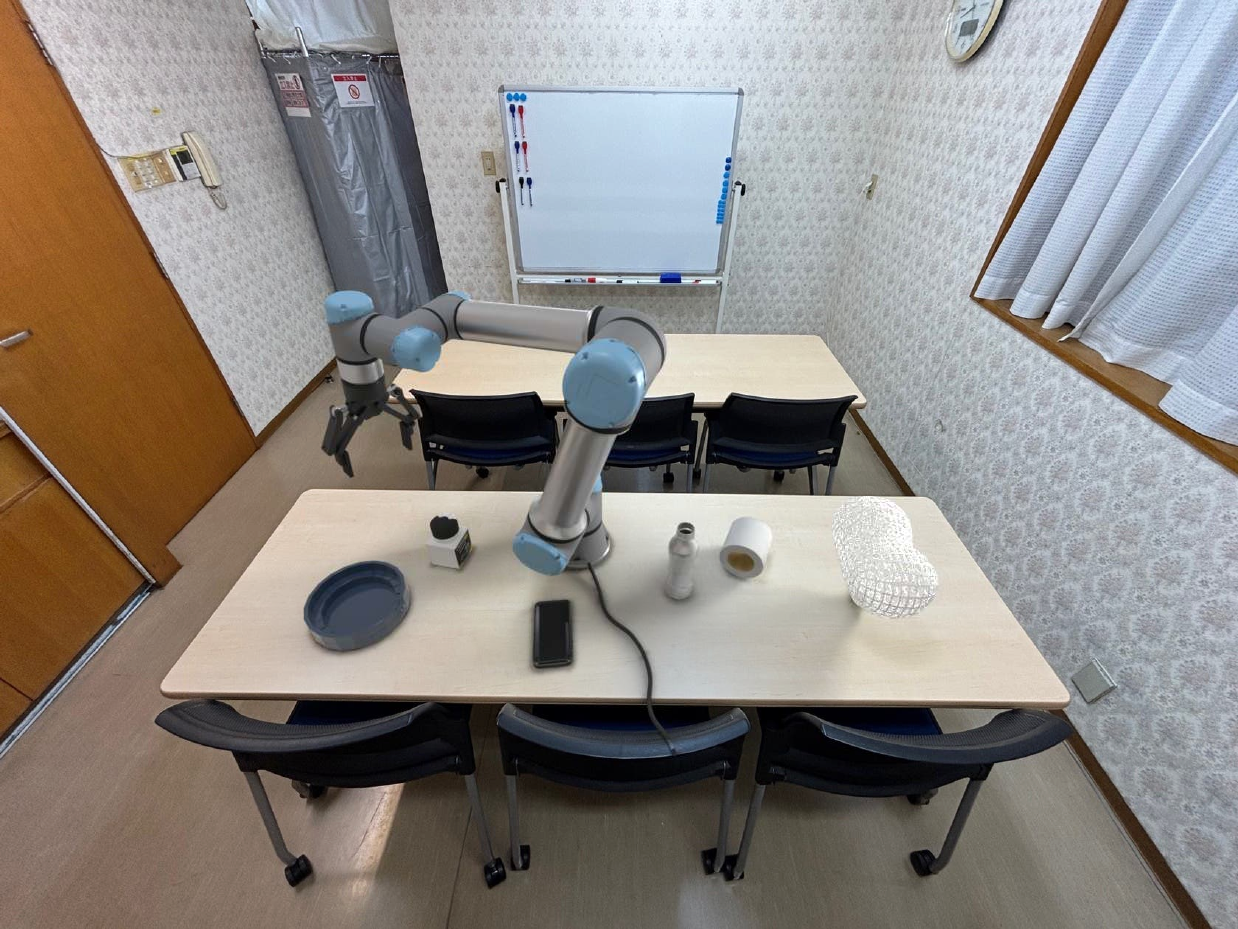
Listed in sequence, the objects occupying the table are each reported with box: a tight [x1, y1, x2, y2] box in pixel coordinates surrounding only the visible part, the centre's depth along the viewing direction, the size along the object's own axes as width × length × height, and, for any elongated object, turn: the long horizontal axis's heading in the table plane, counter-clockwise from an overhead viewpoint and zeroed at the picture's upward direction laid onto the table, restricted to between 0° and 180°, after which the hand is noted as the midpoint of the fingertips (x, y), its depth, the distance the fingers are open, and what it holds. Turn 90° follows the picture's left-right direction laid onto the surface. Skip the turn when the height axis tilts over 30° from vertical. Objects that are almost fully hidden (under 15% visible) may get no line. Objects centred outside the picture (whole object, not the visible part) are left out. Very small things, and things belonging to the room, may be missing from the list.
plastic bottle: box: [664, 521, 700, 600], centre depth 108 cm, size 6×7×20 cm
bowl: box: [303, 559, 411, 651], centre depth 108 cm, size 20×20×5 cm
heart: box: [831, 495, 939, 620], centre depth 106 cm, size 28×16×22 cm, turn 175°
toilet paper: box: [718, 516, 774, 579], centre depth 118 cm, size 10×10×10 cm
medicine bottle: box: [425, 512, 473, 570], centre depth 118 cm, size 7×7×12 cm
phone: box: [532, 599, 574, 669], centre depth 105 cm, size 8×1×15 cm
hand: (379, 460), depth 109 cm, fingers open, 13 cm apart
